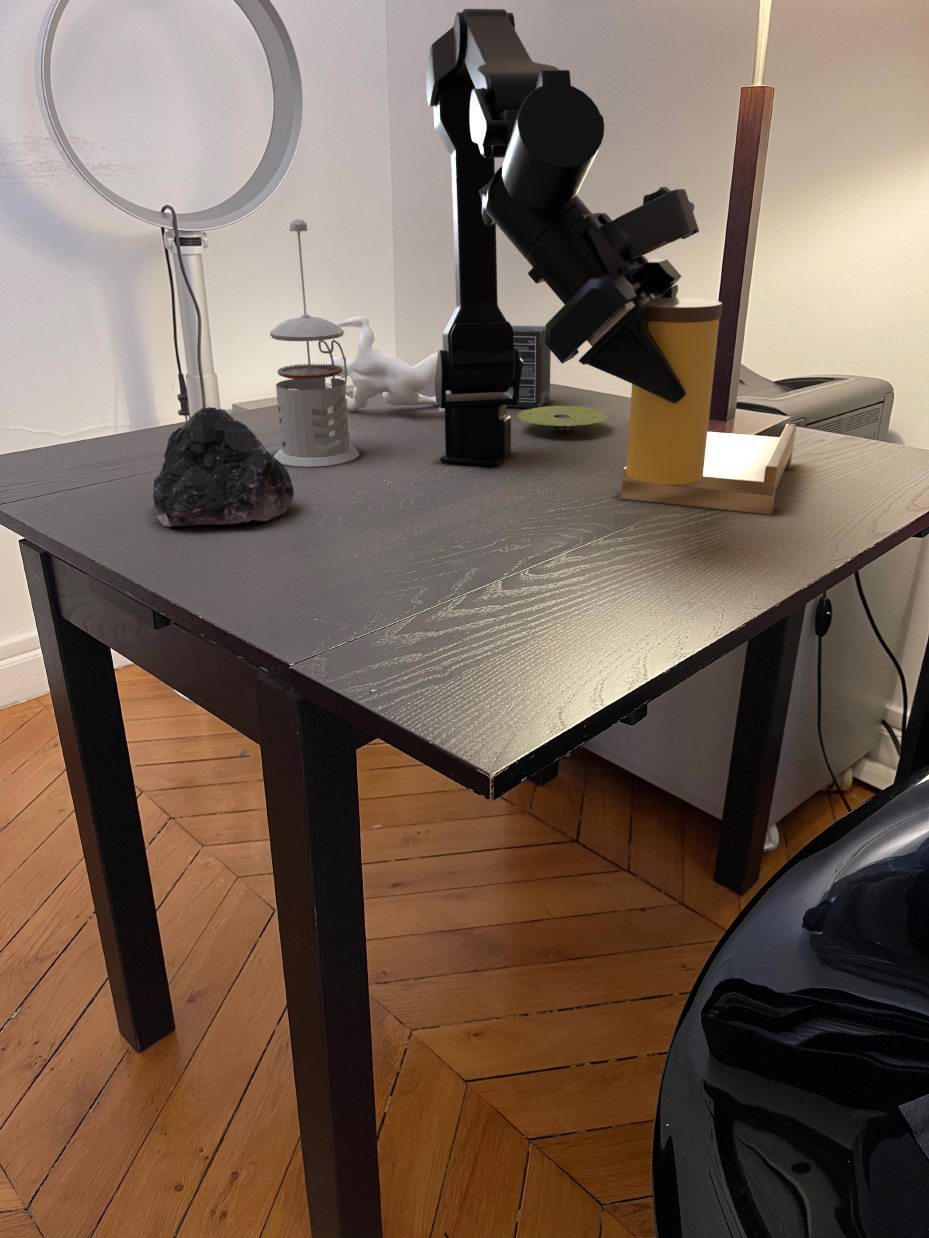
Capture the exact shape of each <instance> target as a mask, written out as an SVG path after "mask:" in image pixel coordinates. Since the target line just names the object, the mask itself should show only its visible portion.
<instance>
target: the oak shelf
mask: <svg viewBox="0 0 929 1238" xmlns="http://www.w3.org/2000/svg"><path fill="white" fill-rule="evenodd" d="M796 431H797V424H795V423H786V424H785V427H784V428H783V431H782V433H781V435H780V436H767V435H755V434H742V433H728V432H714V431H708V433H707V442H706V452H705V461H704V471H703V477H702V478H701V479H700V480H698V481H695V482H692V483H687V484H677V485H665V484H653V483H647V482H642V481H639V480H636V479H633V478H631V477H630V476H628V475H627V473H626V467H627V465H625V467H624V468H623V469H622V481H621V495H620V496H621V497H620V498H621V500H630V501H639V502H647V503H648V502H649V503H658V504H668V505H676V506H678V505H679V506H686V507H694V508H695V507H696V508H705V509H714V510H724V511H733V512H740V513H741V512H742V513H751V514H758V515H759V514H761V515H772V513H773V510H774V506H775V505H774V504H775V497H776V491H777V488H778V485H779V484H780V481H781V479H782V476H783V474H784V472H785V470H790V469H791V466H792V459H793V453H794V447H795V437H796Z"/></svg>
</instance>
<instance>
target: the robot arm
mask: <svg viewBox="0 0 929 1238" xmlns="http://www.w3.org/2000/svg"><path fill="white" fill-rule="evenodd" d="M571 82H572V81H571V72H570V70H569V69H559V68H558V67H556V66H555V65H551V64H544V63H541V62H540V63H539V62H535V61H533V60H532V58H531V56H530V54H529V53H528V51H527V49H526V48H525V46H524V44H523V42H522V40H521V38H520V37H519V34H518V32H517V31H516V23H515V16H514V13H513V12H507V10H506V9H505V8H464V9H463V10H461V11H456V13H455V15H454V20H453V25H452V26H451V28H450V29H448V30H447V31H446V32H445V33H443V35H441V36H440V37H439V38H437V40H435V41H434V42H433V43H432V44H431V46H430V49H429V56H428V61H427V66H426V99H427V105H428V107H432V108H433V123H434V125H433V126H434V130H435V131H436V133H437V135H438V137H439V138H440V140H441V141H442V143H443V145H444V146H445V148H446V150H447V151H448V153H449V155H450V162H451V164H450V165H451V191H452V192H451V193H452V195H451V196H452V219H453V220H452V222H453V223H452V224H453V251H454V252H453V253H454V281H455V282H454V283H455V309H454V311H453V313H452V315H451V317H450V318H449V321H448V323H447V325H446V326H445V329H444V331H443V332H442V349H438V351H437V353H438V357H437V365H436V374H435V382H434V393H435V394H434V396H436V402H437V403H438V405H437V406H439V408H445V413H444V443H445V445H444V447H445V448H444V449H445V453H444V454H443V455H441V456H440V457H439V461H440V462H441V463H448V464H449V463H450V464H462V465H477V466H486V467H488V466H489V467H495V466H497V465H498V464H500V463H501V462H502V461H503V460H504V459H505V458H506V457H508V456H509V455H510V454H511V453H512V417H511V416H510V415H508V414H507V408H508V407H507V405H510V404H511V405H517V402H519V388H520V381H521V376H522V370H523V361H522V360H521V359H520V356H519V352H518V349H517V347H514V331H513V328H512V326H513V325H512V324H511V322H509V321H507V319H506V317H505V316H504V314H503V312H502V310H501V309H500V307H499V304H498V303H499V301H498V262H497V261H498V260H497V259H498V258H497V257H498V256H497V227H498V229H500V230H501V232H502V233H503V234H504V235H505V236H506V238H507V239H508V240H509V241H510V242H511V243H512V245H513V246H514V247H515V248H516V249H517V250H518V252H519V253H520V254H521V255H522V256H523V258H524V259H525V260H526V261H527V262H528V263H529V265H530V266H531V267H532V268H531V269H530V270H529V271H528V272H527V275H528V276H529V277H530V278H531V279H532V281H533V282H534V283H535V284H536V285H537V284H540V283H546V285H547V286H548V287H549V288H550V289H551V291H552V292H553V293H554V294H555V295H556V296H557V298H558V299H559V300H560V301H561V302H562V303H563V304H564V305H563V306H562V307H561V308H560V309H559V310H558V311H557V312H556V313H555V314H554V315H553V316H552V317H551V318H550V319H549V320H548V322H547V323H546V324H545V325H544V326H545V344H546V345H547V347H548V348H549V349H550V350H551V353H552V354H553V355H554V356H555V357H556V359H557V360H558V361H559V362H560V363H561V364H565V363H566V362H568V361H570V360H572V359H574V358H575V357H576V356H577V355H578V354H579V353H580V352H579V348H580V347H581V346H582V345H583V344H585V343H586V342H587V343H588V344H589V345H590V346H591V347H590V348H589V349H588V350H587V351H586V352H585V353H584V354H583V355H582V356H581V357H580V358H579V360H578V362H579V363H580V364H582V365H583V366H585V365H587V366H590V367H593V368H595V369H597V370H599V371H601V372H604V373H607V374H609V375H611V376H614V377H615V378H618V379H620V380H622V381H625V382H626V383H627V382H628V383H629V384H631V385H632V384H634V385H636V386H638V387H640V388H642V389H644V390H646V391H649V392H651V393H653V394H655V395H657V396H659V397H661V398H663V399H666V400H668V401H670V402H672V403H677V402H678V401H680V400H681V399H682V398H683V397H684V396H685V395H686V391H685V389H684V388H683V386H682V384H681V382H680V381H679V379H678V377H677V375H676V374H675V372H674V371H673V369H672V367H671V366H670V364H669V362H668V361H667V359H666V358H665V356H664V354H663V353H662V351H661V349H660V348H659V346H658V345H657V343H656V341H655V340H654V338H653V337H652V335H651V334H650V331H649V328H648V324H649V303H650V301H649V299H651V298H677V294H678V293H679V286H678V284H676V283H678V281H680V279H681V278H682V275H681V273H679V272H678V271H677V269H676V268H675V267H674V265H672V263H671V262H670V261H669V259H667V258H666V259H665V258H650V259H647V258H646V256H645V255H647V254H650V253H651V252H653V251H655V250H657V249H660V248H662V247H664V246H666V245H668V244H672V243H674V242H675V241H678V240H680V239H681V240H685V239H687V238H689V237H691V236H694V235H695V234H698V233H699V232H700V228H699V224H698V222H697V219H696V216H695V214H694V211H695V204H694V202H692V201H691V200H689V197H688V194H687V190H686V188H677V189H676V188H675V189H673V190H670V188H669V187H668V186H660V187H659V188H658V190H656V191H653V192H651V193H649V194H645V195H644V196H643V199H642V205H639V206H638V207H636V208H634V209H631V210H629V211H627V212H626V213H624V214H621V215H620V216H618V217H616V218H614V219H613V220H612V219H611V217H610V216H609V215H608V214H607V213H605V212H602V213H601V212H596V213H595V212H594V213H593V212H592V211H591V210H590V209H589V207H587V205H586V204H585V203H584V202H583V200H581V199H580V197H579V196H578V193H579V191H580V188H581V187H582V184H583V182H584V180H585V178H586V176H587V175H588V172H589V170H590V168H591V166H592V164H593V162H594V160H595V158H596V156H597V154H598V152H599V150H600V147H601V146H602V143H603V139H604V137H605V122H604V116H603V115H602V113H601V112H600V110H599V108H598V106H597V104H596V103H595V102H594V101H593V99H592V98H591V97H590V96H588V94H587V93H586V92H584V91H583V90H582V89H579V88H577V87H576V86H573V85H572V83H571ZM502 158H503V161H502V165H501V166H500V167H499V168H498V169H497V170H496V167H495V166H496V163H495V160H496V159H502ZM643 299H644V300H643ZM639 300H642V301H640V302H639V303H638V304H636V302H637V301H639ZM511 325H512V326H511ZM446 391H450V392H451V394H446Z"/></svg>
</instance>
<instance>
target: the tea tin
mask: <svg viewBox="0 0 929 1238" xmlns="http://www.w3.org/2000/svg"><path fill="white" fill-rule="evenodd" d="M643 300H644V299H643ZM640 301H642V300H639V301H637V302H636V304H638V303H639V302H640ZM649 301H650V303H649V324H648V328H649V331H650V334H651V335H652V337H653V338H654V340H655V341H656V343H657V345H658V346H659V348H660V349H661V351H662V353H663V354H664V356H665V358H666V359H667V361H668V362H669V364H670V366H671V367H672V369H673V371H674V372H675V374H676V375H677V377H678V379H679V381H680V382H681V384H682V386H683V388H684V389H685V391H686V395H685V396H684V397H683V398H682V399H681V400H680V401H678V402H677V403H672V402H670V401H668V400H666V399H663V398H661V397H659V396H657V395H655V394H653V393H651V392H649V391H646V390H644V389H642V388H640V387H638V386H636V385H634V384H632V383H631V394H630V395H631V396H630V411H629V412H630V413H629V422H628V423H629V424H628V426H629V427H628V438H627V452H626V453H627V454H626V466H627V467H626V466H625V467H626V473H627V475H628V476H630V477H631V478H633V479H636V480H639V481H642V482H647V483H653V484H665V485H677V484H687V483H692V482H695V481H698V480H700V479H701V478H702V477H703V471H704V461H705V452H706V442H707V433H708V432H709V431H708V430H709V421H710V414H711V413H710V411H711V404H712V403H711V402H712V393H713V383H714V374H715V363H716V357H717V356H716V354H717V344H718V335H719V327H720V326H719V325H720V319H721V317H722V311H723V310H722V309H723V303H722V302H721V301H719V300H714V299H709V298H697V297H676V298H651V299H649Z"/></svg>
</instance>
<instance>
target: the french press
mask: <svg viewBox="0 0 929 1238" xmlns="http://www.w3.org/2000/svg"><path fill="white" fill-rule="evenodd" d="M308 231H309V230H308V224H307V223H306V222H305V221H304V220H303V219H299V218H297V219H294V220H292V221H291V222H290V224H289V232H296V233H297V241H298V252H299V253H298V254H299V265H300V276H301V290H302V301H303V302H302V303H303V314H302V315H301V316H300V317H295V318H291V319H287V320H285V321H283V322H280V323H279V324H278V325H276V326H275V327H274V328H273V329H272V330H271V331H269V336H270V337H271V339H273V340H275V341H276V340H277V341H284V342H306V350H307V361H308V363H303V364H302V363H301V364H300V363H298V364H291V365H286V366H283V367H280V368H278V370H277V375H278V376H280V377H283V378H286V379H285V380H281V381H279V382H277V383H275V389H276V401H277V408H278V409H277V411H278V412H277V413H278V419H279V431H280V432H279V433H280V442H281V448H280V449H279V450H277V451H276V453H275V454H274V455H273V458H275V459H277V460H278V461H279V462H281V464H282V465H287V466H291V467H309V468H312V467H327V466H333V465H340V464H345V463H347V462H350V461H353V460H355V459H357V458H358V457H359V456H360V453H359V450H358V449H357V448H356V447H355V446H354V445H352V444H350V442H351V441H350V432H349V430H348V429H349V427H350V426H349V421H348V417H349V410H348V409H347V408H346V406H347V399H345V395H347V381H348V376H347V368H346V359H345V357H346V356H345V353H344V350H343V347H342V346H341V344H340V342H339V341H337V340H335V339H339V338H341V337H343V336H344V334H345V330H344V329H343V328H340V327H338V326H337V325H335V324H334V323H332V322H333V321H330V320H327V319H324V318H321V317H316V316H311V315H309V314H307V306H306V304H307V303H306V293H305V281H304V279H305V278H304V268H303V256H302V255H303V254H302V243H301V232H308ZM327 340H331V342H330V347H329V343H327V342H326V341H327ZM317 341H318V343H317V344H318V350H319V352H320V353H322V354H329V358H330V361H332V364H331V365H330V364H329V363H318V364H317V363H311V355H310V342H317ZM321 343H323V344H324V345H325V348H326V349H327V350H323V349H322V344H321ZM334 343H335V344H336V345H337V346H338V348H339V350H340V353H341V355H342V356H341V357H343V359H344V369H345V378H344V379H342V378H337V377H336V376H337V375H338V374H339V373H341V372H342V368H341V367H340V366H337V365H334V360H333V358H334V356H333V352H334ZM327 378H330V383H331V386H332V388H327V389H326V384H325V382H326V379H327ZM330 408H332V412H330V413H329V412H328V411H329V410H328V409H330ZM281 410H282V411H281ZM331 420H333V423H332V424H329V422H330V421H331ZM282 421H283V422H282ZM283 432H284V434H283ZM330 432H334V435H332V436H330Z"/></svg>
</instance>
